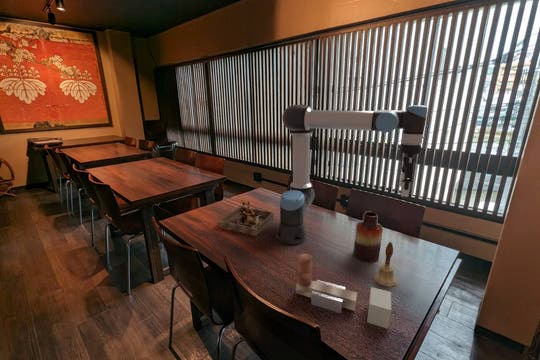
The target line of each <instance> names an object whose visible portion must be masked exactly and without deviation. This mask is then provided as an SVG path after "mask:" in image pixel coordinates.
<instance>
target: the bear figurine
mask: <svg viewBox="0 0 540 360" xmlns="http://www.w3.org/2000/svg"><path fill="white" fill-rule="evenodd" d="M241 203H242V205H241V206H242V208H243V209H244V210H242V213H241V216H239V218H238V219H236V224H238V225H243V226H247V227H252V228H254V227H253V226H254V225H257V224H258V221H259V220H258V219H259V218H260V216H255V213H254V212H253V210H252V209H251V208H252V207H250V204H251V203H250V201H247V202H245V201H242V202H241Z"/></svg>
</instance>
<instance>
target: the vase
mask: <svg viewBox="0 0 540 360" xmlns="http://www.w3.org/2000/svg"><path fill="white" fill-rule="evenodd" d="M378 216H379V215H378V213H376V212H373V211H365V212H364V213H363V217H362V220H360V221H358V222H357V223H356V225H355V234H354V243H353V255H354V256H353V257H355V258H356V259H357V260H359V261H361V262H364V263H376V262H378V261H379V259H380V253H381V246H382V240H383V232H384V231H383V230H384V228H383V226H382V225H381V224H380V223H378V221H379V220H378V219H379V217H378Z"/></svg>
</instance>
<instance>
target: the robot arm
mask: <svg viewBox="0 0 540 360" xmlns="http://www.w3.org/2000/svg"><path fill="white" fill-rule="evenodd" d="M427 115H428V107H427V106H426V105H408V106H406V109H402V110H397V109H396V110H393V109H381V110H380V109H378V110H375V111H374V110H331V109H330V110H329V109H328V110H325V109H324V110H321V109H320V110H319V109H313V107H311V106H309V105H307V104H303V103H302V104H292V105H289V106H287V107H286V108H285V110H284V111H283V113H282V123H283V125H284V127H285V128H286V129H288V130H289V131H288V132H289V134H290V136H292V178H293V179H292V182H291V183H290V185H289V188H290V190H286V191H284V192H282V194H281V196H280V199H279V212H280V213H279V214H280V215H279V219H280V220H279V221H280V222H279V225H278V228H277V230H276V239H277V241H279V242H280V243H282V244H285V245H293V246H294V245H300V244H303V243H304V242H306V240H307V236H308V235H307V230H306V228H305V224H304V220H305V219H304V216H305V215H304V214H305V212H306V210H307V209H308V208H309V207H310V206H311V205H312V204H313V201H314V199H315V190H314V189H313V184H312V182H311V181H310V169H311V168H310V167H311V166H310V162H311V161H310V157H311V156H310V155H311V154H310V152H311V151H310V150H311V149H310V148H311V146H310V142H311V135H312V134H313V133H314V129H322V130H323V129H324V130H345V131H346V130H347V131H348V130H349V131H373V132H381V133H391V132H392V131H394V130H396V129H398V130H403V132H402V135H401V144H400V151H399V152H400V153H402V154H404V156H403V159H402V160H403V161H402V164H401V165H402V166H401V173H400V177H399V179H400V180H399V185H398V186H399V188H400V187H401V193H400V196H401V197H405V198H409V194H410V190H411V183H412V182H413V180H412V179H413V172H414V163H415V157H414V155H420V154H421V151H422V145H421V144H423V139H425V136H424V132H425V126H426V121H427Z"/></svg>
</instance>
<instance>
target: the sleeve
mask: <svg viewBox="0 0 540 360" xmlns="http://www.w3.org/2000/svg"><path fill="white" fill-rule="evenodd" d="M316 281H317V282H320V283H324V284H327V285H331V286H335V287H338V288H342V289H346V287H345V286H343V285H339V284H335V283H330V282H328V281H324V280H320V279H316ZM310 299H311V302H310V304H311V305H312V306H315V307H319V308H322V309H325V310H329V311H332V312H335V313H338V314H342V312H343V307H342V302H343V300H342V299H339V298H336V297H332V296H329V295H325V294H322V293H318V292H315V291H312V296H311V298H310Z"/></svg>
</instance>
